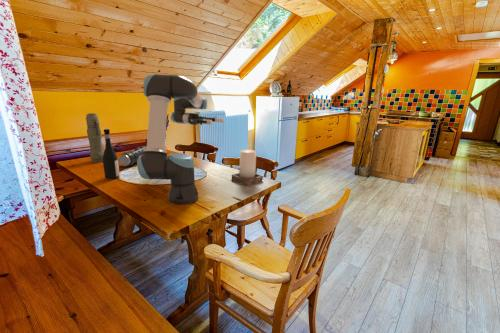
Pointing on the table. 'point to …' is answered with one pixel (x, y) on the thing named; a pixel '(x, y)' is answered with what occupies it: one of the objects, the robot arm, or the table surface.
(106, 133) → the wine bottle
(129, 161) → the muzzle brake
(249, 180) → the coaster tray
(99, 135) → the grey stone pillar
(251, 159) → the ceramic canister
